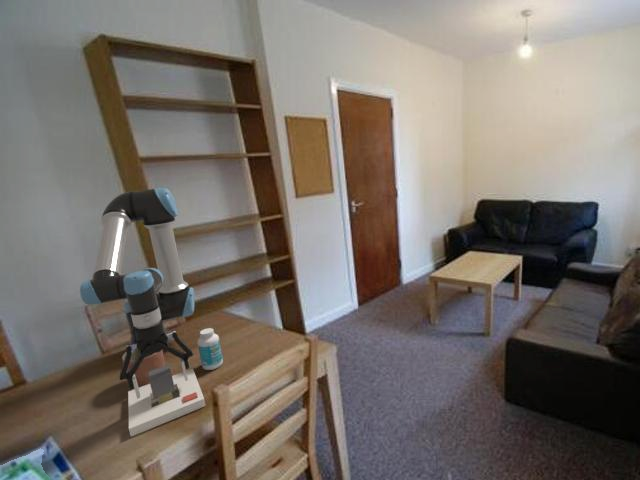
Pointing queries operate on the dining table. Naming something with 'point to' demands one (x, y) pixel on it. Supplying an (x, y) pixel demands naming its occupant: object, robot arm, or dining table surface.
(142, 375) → the planter
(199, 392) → the socket plate
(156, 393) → the plug
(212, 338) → the pill bottle
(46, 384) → the dining table surface
